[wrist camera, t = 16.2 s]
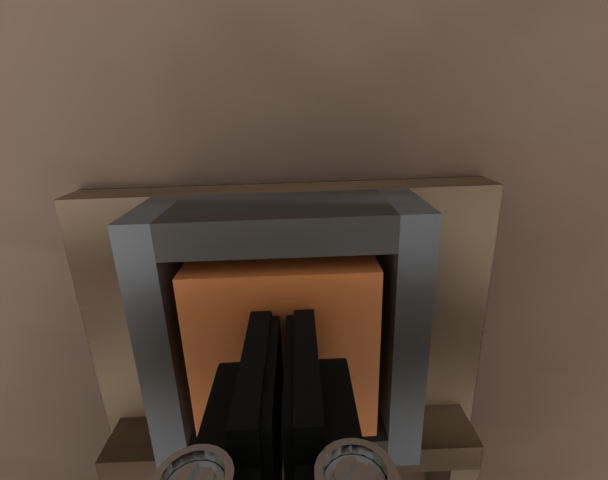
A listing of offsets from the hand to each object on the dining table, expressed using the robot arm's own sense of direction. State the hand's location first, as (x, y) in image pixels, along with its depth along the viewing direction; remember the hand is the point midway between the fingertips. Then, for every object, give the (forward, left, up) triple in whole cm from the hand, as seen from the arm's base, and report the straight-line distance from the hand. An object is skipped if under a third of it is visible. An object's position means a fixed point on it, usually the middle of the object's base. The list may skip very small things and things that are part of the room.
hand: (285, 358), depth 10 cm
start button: (0, 0, -2) cm, 3 cm away
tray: (-7, 0, -5) cm, 9 cm away
